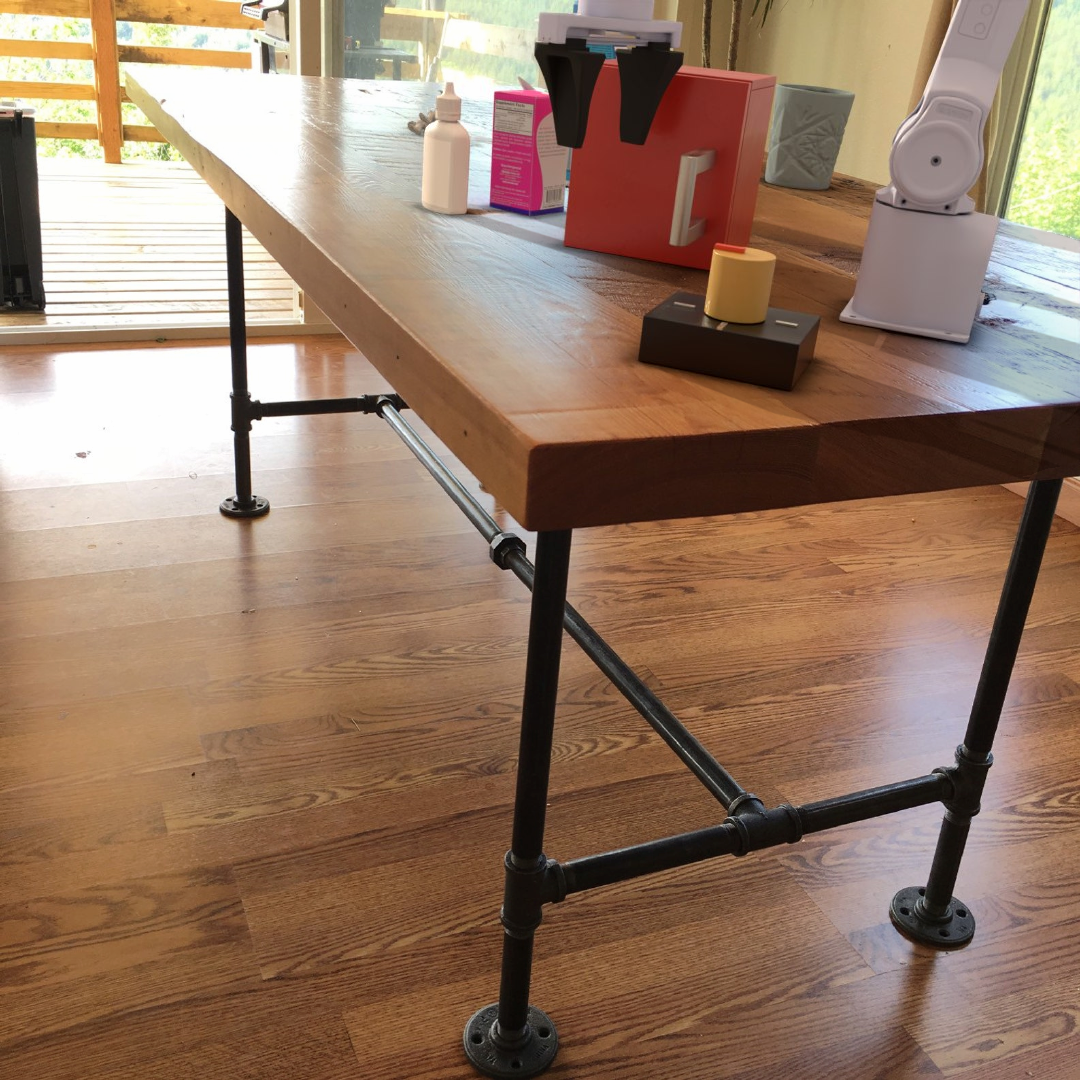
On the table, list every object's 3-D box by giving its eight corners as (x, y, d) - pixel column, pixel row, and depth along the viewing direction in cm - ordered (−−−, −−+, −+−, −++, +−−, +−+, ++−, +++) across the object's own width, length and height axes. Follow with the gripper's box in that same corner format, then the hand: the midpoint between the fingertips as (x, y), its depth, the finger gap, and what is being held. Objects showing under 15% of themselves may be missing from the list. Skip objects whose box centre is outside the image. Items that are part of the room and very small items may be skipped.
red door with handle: (699, 287, 91) (729, 86, 85) (535, 258, 96) (550, 65, 89) (722, 270, 98) (751, 82, 91) (567, 243, 102) (584, 62, 96)
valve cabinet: (722, 271, 98) (752, 80, 91) (568, 245, 103) (585, 61, 96) (747, 252, 107) (777, 76, 100) (603, 228, 111) (622, 58, 104)
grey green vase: (761, 174, 155) (777, 81, 150) (835, 183, 154) (853, 89, 148) (759, 184, 146) (775, 86, 141) (838, 194, 145) (857, 95, 140)
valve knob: (771, 313, 74) (782, 248, 72) (758, 327, 71) (770, 259, 69) (712, 303, 75) (722, 238, 73) (697, 316, 72) (707, 248, 70)
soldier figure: (393, 139, 163) (412, 105, 172) (417, 163, 165) (435, 128, 174) (428, 105, 159) (446, 71, 167) (453, 130, 161) (469, 96, 169)
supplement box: (521, 202, 120) (530, 88, 115) (565, 212, 117) (575, 95, 112) (485, 207, 116) (493, 88, 111) (529, 217, 113) (539, 96, 108)
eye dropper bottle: (422, 214, 110) (427, 83, 104) (421, 203, 115) (425, 77, 109) (467, 217, 110) (474, 86, 105) (463, 206, 115) (470, 81, 110)
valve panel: (812, 359, 76) (822, 313, 75) (790, 392, 69) (799, 342, 68) (672, 332, 79) (678, 287, 78) (637, 361, 72) (643, 313, 71)
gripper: (641, -44, 90) (622, 134, 96) (513, -60, 80) (500, 140, 86) (712, -39, 86) (687, 147, 92) (586, -55, 76) (568, 154, 82)
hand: (601, 145), depth 89 cm, fingers open, 7 cm apart
